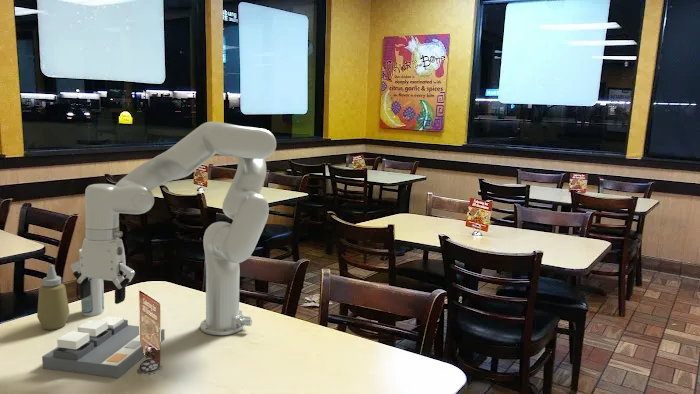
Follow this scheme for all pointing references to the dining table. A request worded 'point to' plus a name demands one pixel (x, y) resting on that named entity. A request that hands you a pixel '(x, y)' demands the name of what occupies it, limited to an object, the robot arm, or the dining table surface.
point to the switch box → (101, 353)
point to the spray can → (93, 297)
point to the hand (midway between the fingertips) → (102, 299)
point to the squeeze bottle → (52, 302)
